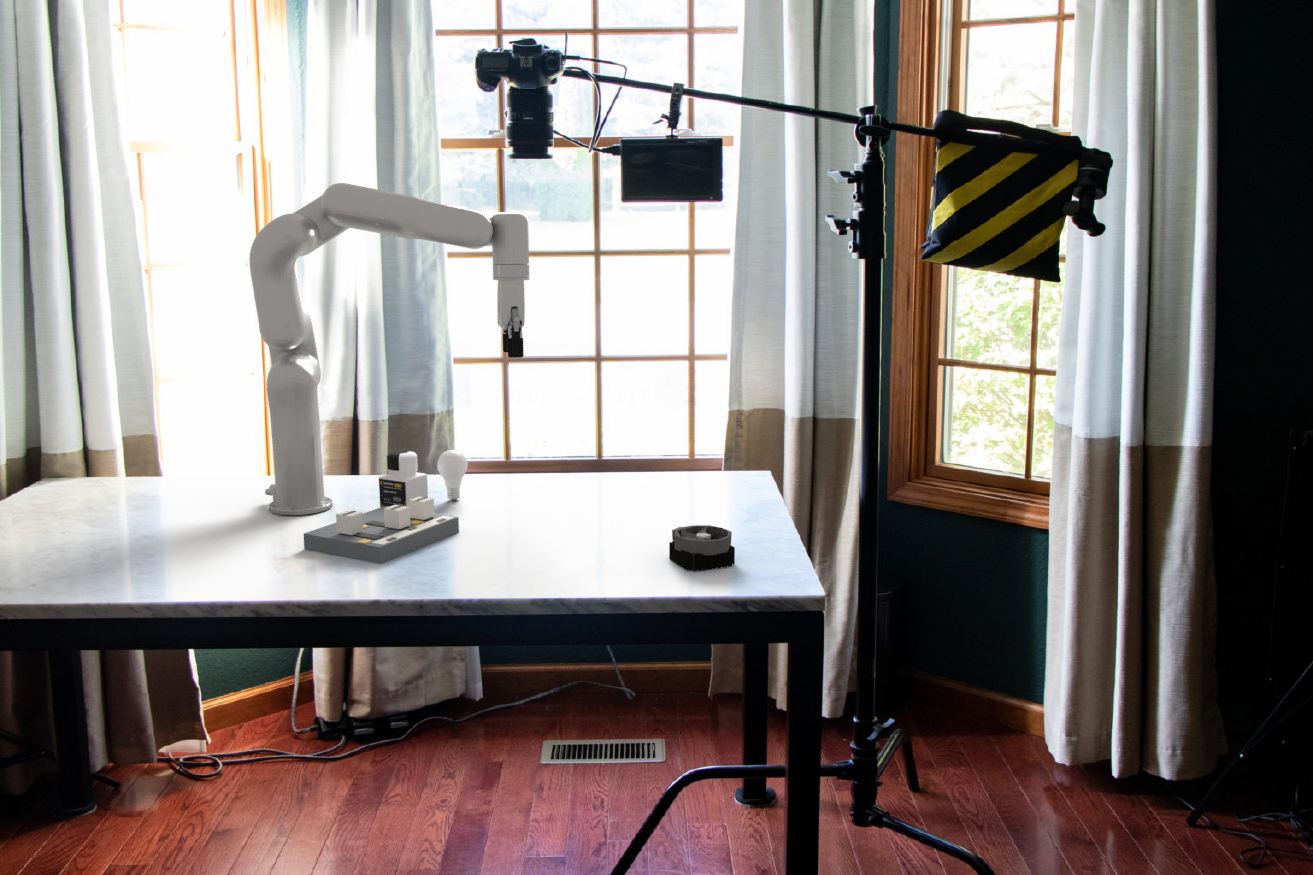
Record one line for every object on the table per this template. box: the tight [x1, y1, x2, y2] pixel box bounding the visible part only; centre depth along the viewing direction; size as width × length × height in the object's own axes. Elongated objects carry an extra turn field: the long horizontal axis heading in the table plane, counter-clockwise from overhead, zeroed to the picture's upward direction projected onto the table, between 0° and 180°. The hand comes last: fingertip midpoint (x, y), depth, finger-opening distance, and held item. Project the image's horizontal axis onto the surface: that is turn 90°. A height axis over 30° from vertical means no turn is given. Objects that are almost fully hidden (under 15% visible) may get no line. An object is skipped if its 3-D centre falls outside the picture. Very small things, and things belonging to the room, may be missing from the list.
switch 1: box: [335, 509, 363, 535], centre depth 195 cm, size 4×3×4 cm
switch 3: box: [409, 496, 435, 520], centre depth 205 cm, size 4×3×4 cm
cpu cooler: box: [668, 524, 736, 573], centre depth 189 cm, size 10×6×10 cm
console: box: [303, 506, 460, 565], centre depth 201 cm, size 18×22×3 cm
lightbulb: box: [436, 449, 469, 502], centre depth 230 cm, size 6×6×11 cm
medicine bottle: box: [378, 450, 429, 508], centre depth 223 cm, size 7×7×12 cm
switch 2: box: [384, 505, 410, 529], centre depth 199 cm, size 4×3×4 cm
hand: (513, 354), depth 228 cm, fingers open, 9 cm apart
